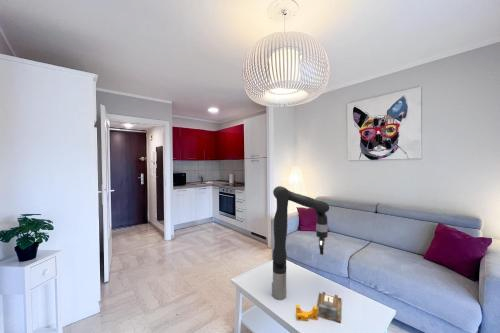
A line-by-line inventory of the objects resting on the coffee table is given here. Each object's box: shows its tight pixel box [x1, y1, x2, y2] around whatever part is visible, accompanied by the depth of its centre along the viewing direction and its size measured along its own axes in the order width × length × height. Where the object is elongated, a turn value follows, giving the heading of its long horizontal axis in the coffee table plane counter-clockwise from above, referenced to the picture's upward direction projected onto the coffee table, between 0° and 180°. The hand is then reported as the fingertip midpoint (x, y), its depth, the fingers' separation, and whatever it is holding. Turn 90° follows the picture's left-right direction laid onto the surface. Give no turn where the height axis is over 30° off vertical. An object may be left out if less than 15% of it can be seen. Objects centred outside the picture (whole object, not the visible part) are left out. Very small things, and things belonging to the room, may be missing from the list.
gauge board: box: [316, 291, 342, 324], centre depth 134 cm, size 14×22×6 cm, turn 156°
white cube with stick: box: [324, 294, 333, 307], centre depth 131 cm, size 5×6×8 cm
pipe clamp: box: [295, 304, 318, 322], centre depth 125 cm, size 12×4×6 cm, turn 84°
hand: (321, 254), depth 150 cm, fingers closed
